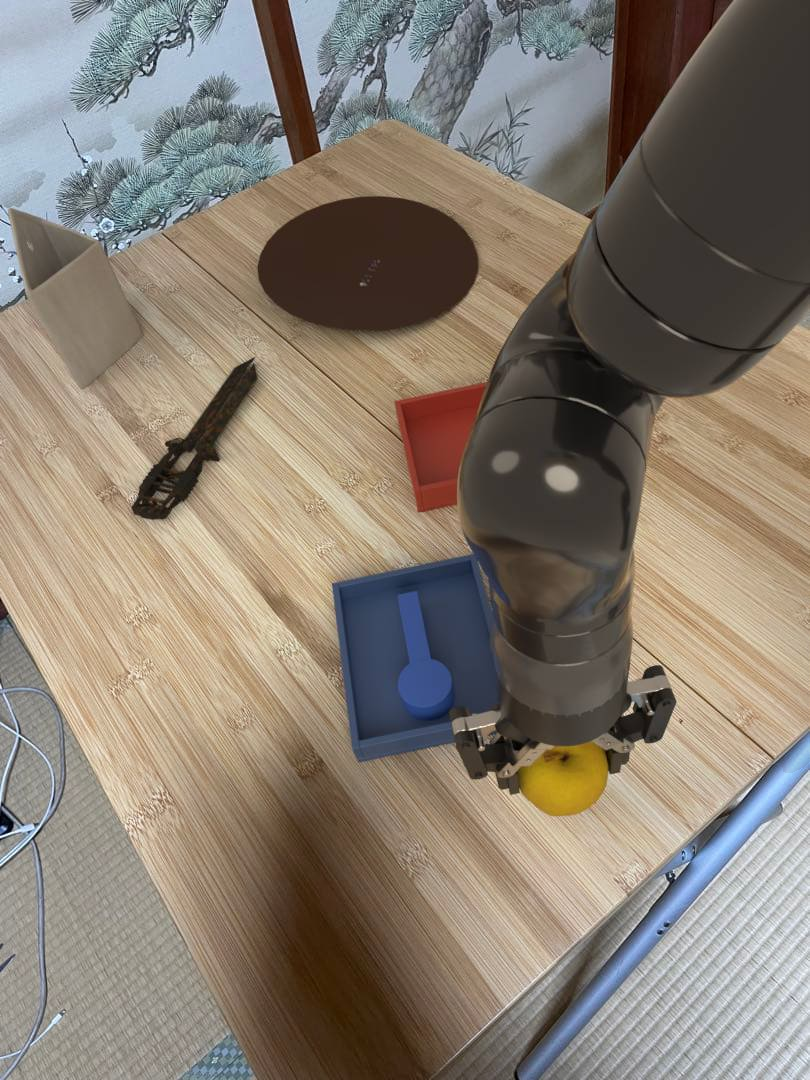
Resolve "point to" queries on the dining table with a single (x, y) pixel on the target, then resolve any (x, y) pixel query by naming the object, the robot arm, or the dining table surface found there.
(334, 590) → the blue tray
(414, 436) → the red tray
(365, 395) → the dining table surface
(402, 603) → the spoon
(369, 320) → the plate
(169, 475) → the knife
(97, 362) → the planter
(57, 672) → the dining table surface
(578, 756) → the apple
